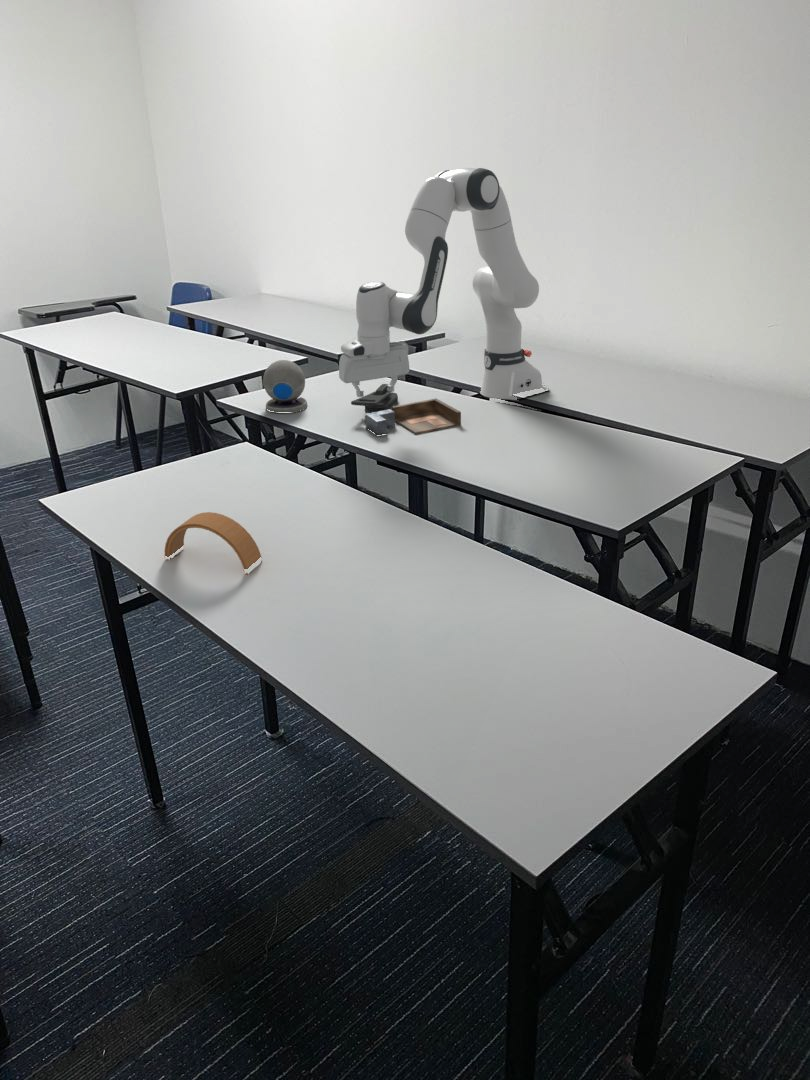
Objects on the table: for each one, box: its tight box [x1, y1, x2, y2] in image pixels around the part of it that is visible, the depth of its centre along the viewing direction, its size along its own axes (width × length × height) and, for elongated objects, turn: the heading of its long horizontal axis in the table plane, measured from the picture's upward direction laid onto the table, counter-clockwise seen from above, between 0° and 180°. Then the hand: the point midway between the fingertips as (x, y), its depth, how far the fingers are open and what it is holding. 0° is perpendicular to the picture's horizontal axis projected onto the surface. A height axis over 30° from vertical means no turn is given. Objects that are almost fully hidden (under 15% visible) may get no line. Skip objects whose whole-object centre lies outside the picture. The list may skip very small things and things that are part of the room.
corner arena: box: [391, 398, 462, 435], centre depth 241 cm, size 15×15×4 cm
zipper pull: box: [350, 383, 399, 413], centre depth 252 cm, size 9×7×25 cm
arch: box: [164, 511, 262, 570], centre depth 167 cm, size 6×20×10 cm, turn 68°
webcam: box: [262, 359, 308, 413], centre depth 255 cm, size 13×13×15 cm
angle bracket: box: [364, 408, 396, 436], centre depth 236 cm, size 8×8×4 cm
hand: (375, 393), depth 229 cm, fingers open, 8 cm apart
